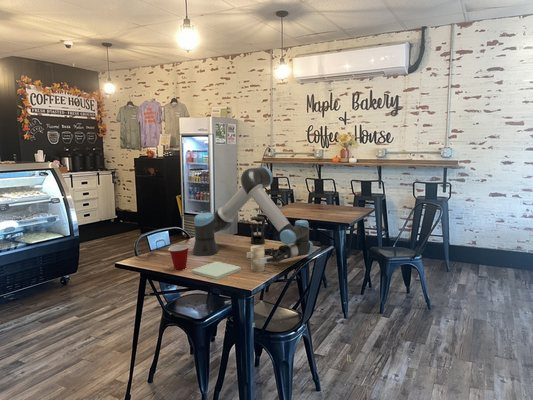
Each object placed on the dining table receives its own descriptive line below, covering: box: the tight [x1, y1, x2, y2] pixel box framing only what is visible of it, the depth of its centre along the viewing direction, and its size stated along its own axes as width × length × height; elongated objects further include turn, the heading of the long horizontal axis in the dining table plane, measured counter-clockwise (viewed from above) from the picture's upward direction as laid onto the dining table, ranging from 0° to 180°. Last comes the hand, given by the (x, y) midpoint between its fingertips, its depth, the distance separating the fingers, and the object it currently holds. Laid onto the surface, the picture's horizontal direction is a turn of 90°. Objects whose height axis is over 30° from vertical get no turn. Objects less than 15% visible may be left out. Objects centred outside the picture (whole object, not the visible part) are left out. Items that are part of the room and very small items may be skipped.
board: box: [190, 260, 242, 280], centre depth 204 cm, size 18×18×2 cm
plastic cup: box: [168, 244, 190, 271], centre depth 208 cm, size 11×11×12 cm
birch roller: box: [250, 244, 266, 273], centre depth 204 cm, size 7×7×12 cm
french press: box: [250, 207, 266, 246], centre depth 259 cm, size 12×9×23 cm
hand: (253, 258), depth 203 cm, fingers open, 13 cm apart
